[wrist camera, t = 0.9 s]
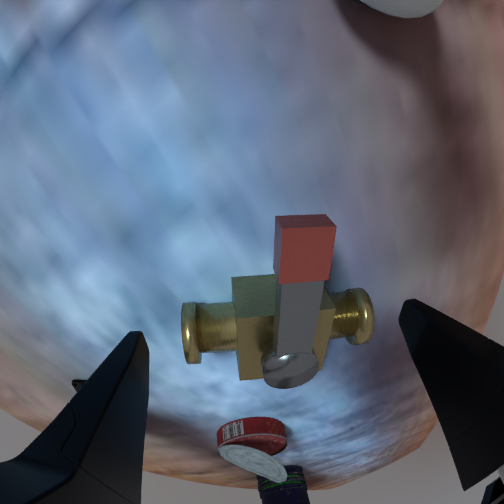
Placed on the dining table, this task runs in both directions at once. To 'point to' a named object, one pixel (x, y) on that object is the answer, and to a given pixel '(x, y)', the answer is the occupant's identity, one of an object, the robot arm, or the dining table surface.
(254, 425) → the canned food
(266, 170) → the dining table surface
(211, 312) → the valve
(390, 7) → the flower vase
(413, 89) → the dining table surface
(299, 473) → the storage jar
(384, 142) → the dining table surface
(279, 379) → the lever
